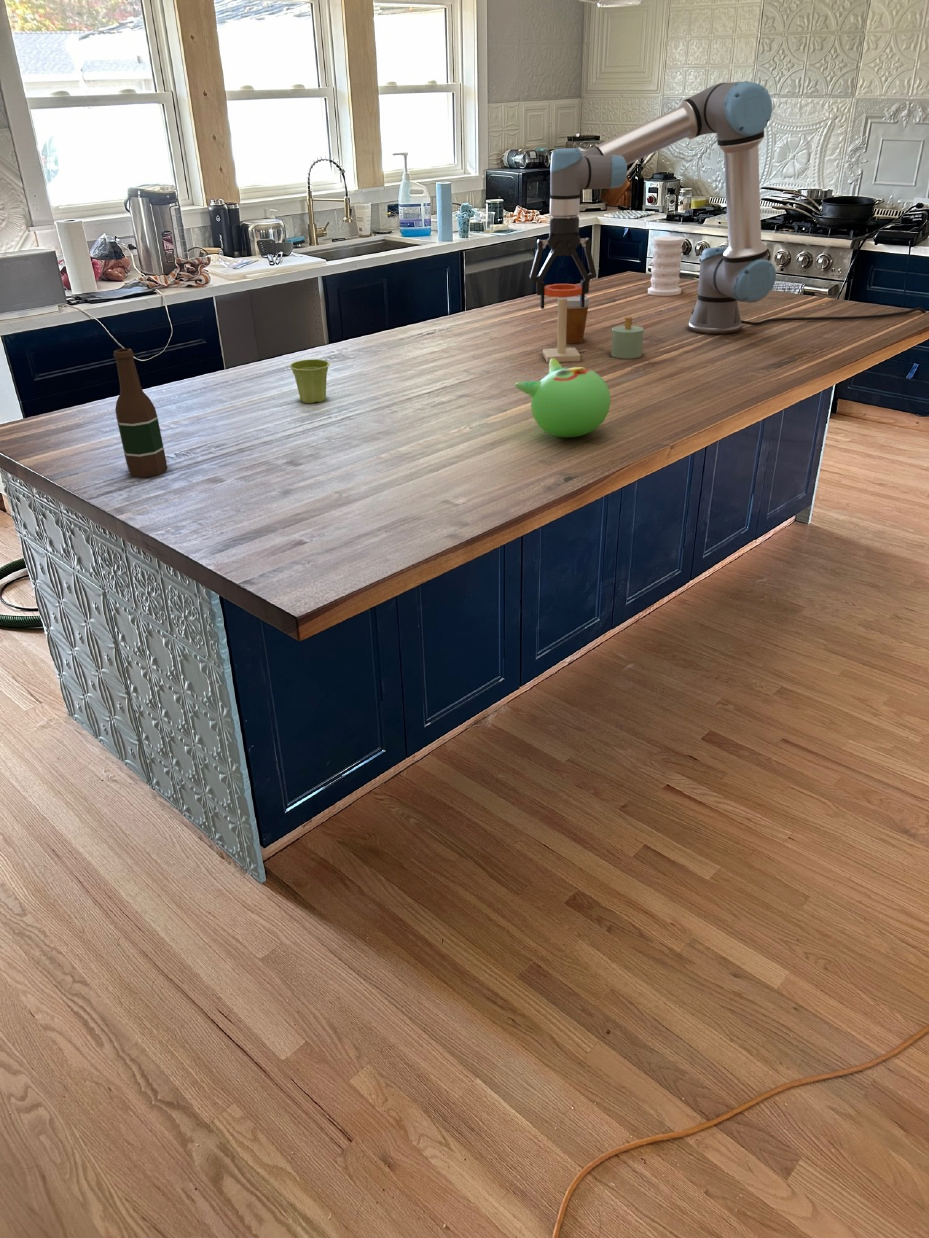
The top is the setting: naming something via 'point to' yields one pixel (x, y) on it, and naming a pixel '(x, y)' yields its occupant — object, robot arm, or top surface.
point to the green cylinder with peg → (627, 340)
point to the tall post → (561, 338)
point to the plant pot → (311, 379)
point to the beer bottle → (137, 422)
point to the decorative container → (666, 265)
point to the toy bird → (568, 400)
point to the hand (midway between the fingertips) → (562, 307)
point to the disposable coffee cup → (576, 319)
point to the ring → (563, 290)
